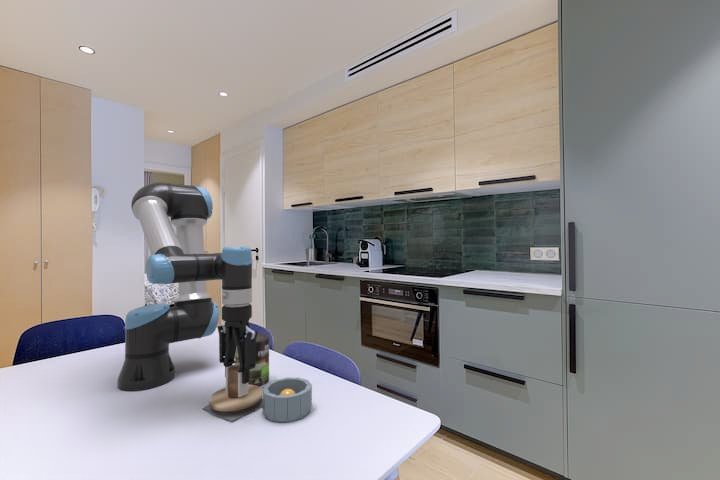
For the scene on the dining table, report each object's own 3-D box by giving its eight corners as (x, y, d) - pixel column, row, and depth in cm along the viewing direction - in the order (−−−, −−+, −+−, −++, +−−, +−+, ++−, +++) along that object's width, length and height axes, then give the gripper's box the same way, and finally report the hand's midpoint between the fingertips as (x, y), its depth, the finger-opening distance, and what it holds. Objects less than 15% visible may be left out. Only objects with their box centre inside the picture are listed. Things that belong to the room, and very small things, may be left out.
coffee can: (275, 378, 106) (275, 334, 106) (259, 392, 96) (259, 343, 96) (245, 376, 108) (245, 332, 108) (227, 389, 98) (227, 341, 98)
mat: (202, 409, 86) (202, 407, 86) (241, 392, 96) (241, 390, 96) (231, 422, 80) (231, 421, 80) (270, 402, 90) (270, 401, 90)
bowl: (253, 413, 84) (253, 390, 84) (287, 395, 94) (287, 374, 94) (287, 428, 77) (287, 402, 77) (320, 406, 87) (320, 383, 87)
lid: (199, 402, 86) (199, 371, 86) (241, 384, 97) (241, 356, 97) (231, 416, 79) (231, 382, 79) (272, 395, 90) (272, 365, 90)
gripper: (204, 303, 90) (204, 390, 89) (246, 310, 80) (246, 407, 80) (228, 299, 96) (228, 380, 96) (270, 305, 87) (270, 395, 86)
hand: (237, 392), depth 88 cm, fingers closed on lid, 4 cm apart
